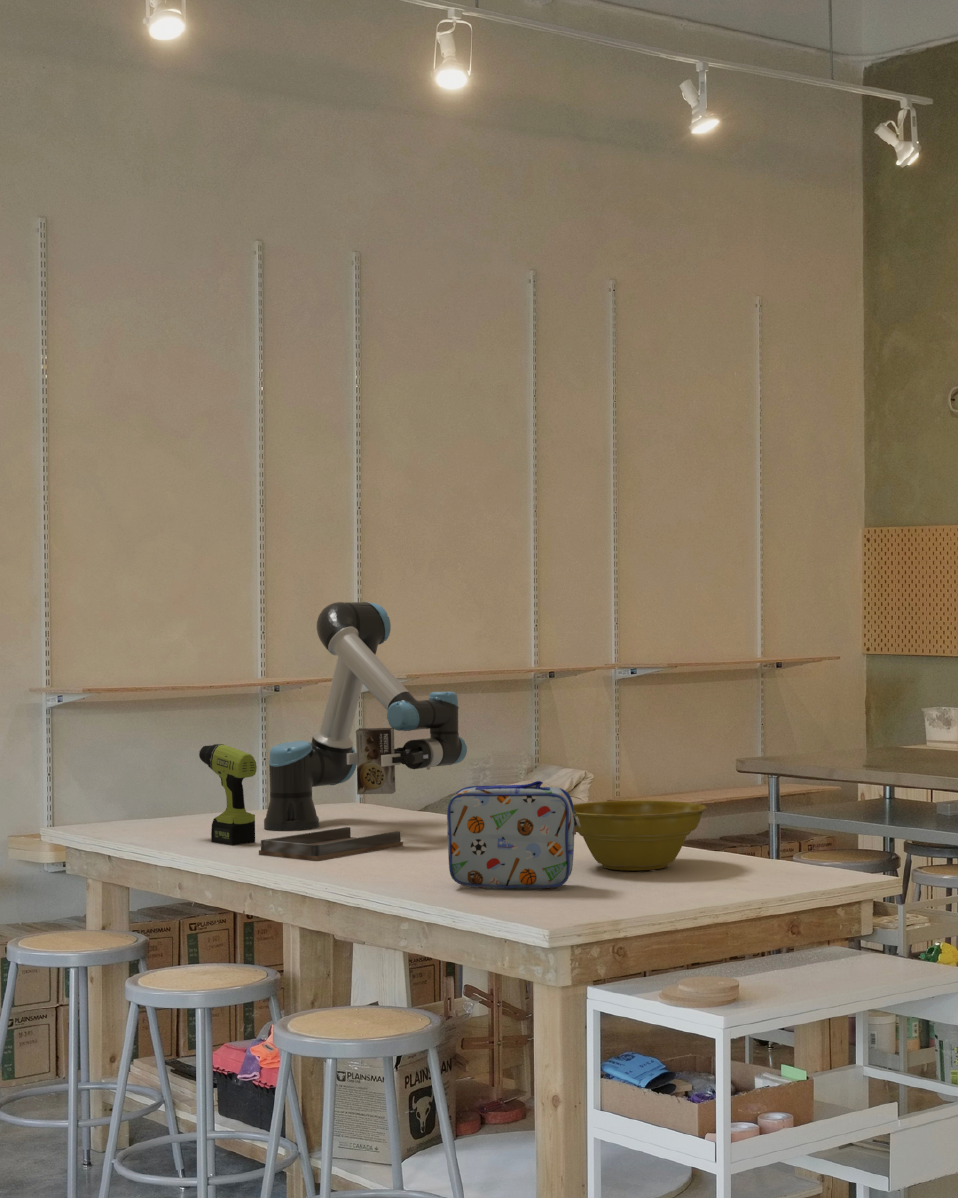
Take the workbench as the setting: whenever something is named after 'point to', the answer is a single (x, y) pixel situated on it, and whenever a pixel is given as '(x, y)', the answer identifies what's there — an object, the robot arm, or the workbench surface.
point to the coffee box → (374, 761)
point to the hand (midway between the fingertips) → (364, 760)
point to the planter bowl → (636, 831)
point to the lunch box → (511, 836)
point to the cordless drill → (231, 793)
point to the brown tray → (327, 844)
